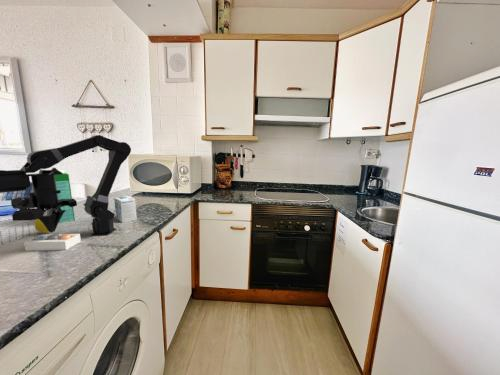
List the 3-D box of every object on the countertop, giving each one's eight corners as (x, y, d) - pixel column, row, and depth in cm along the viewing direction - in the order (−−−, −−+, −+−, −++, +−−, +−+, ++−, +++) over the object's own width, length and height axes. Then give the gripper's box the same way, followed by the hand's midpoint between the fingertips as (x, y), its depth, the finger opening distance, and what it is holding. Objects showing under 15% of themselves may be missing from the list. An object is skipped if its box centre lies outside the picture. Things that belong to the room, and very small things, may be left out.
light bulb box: (115, 218, 106) (113, 197, 104) (130, 215, 111) (128, 195, 109) (122, 223, 99) (120, 200, 97) (137, 219, 104) (135, 198, 102)
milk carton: (75, 220, 102) (67, 169, 98) (49, 224, 96) (40, 170, 91) (72, 216, 108) (65, 168, 104) (48, 220, 102) (39, 169, 97)
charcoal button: (62, 241, 76) (61, 233, 76) (55, 245, 73) (53, 237, 73) (53, 241, 76) (52, 234, 76) (46, 245, 73) (44, 237, 73)
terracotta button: (74, 241, 77) (73, 233, 76) (67, 245, 74) (66, 236, 73) (65, 241, 76) (64, 233, 76) (58, 245, 73) (57, 237, 73)
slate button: (50, 241, 76) (48, 234, 75) (42, 245, 73) (41, 237, 72) (41, 242, 76) (40, 234, 75) (33, 245, 73) (32, 237, 72)
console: (44, 241, 78) (42, 234, 77) (80, 241, 79) (79, 233, 78) (25, 250, 71) (24, 242, 70) (66, 249, 72) (64, 241, 71)
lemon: (53, 230, 90) (50, 212, 88) (56, 233, 86) (53, 214, 85) (35, 233, 85) (32, 214, 84) (37, 237, 82) (33, 217, 80)
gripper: (44, 184, 80) (50, 223, 82) (-13, 194, 61) (-3, 243, 64) (75, 184, 81) (80, 223, 83) (28, 193, 62) (36, 243, 65)
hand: (52, 231), depth 74 cm, fingers closed
